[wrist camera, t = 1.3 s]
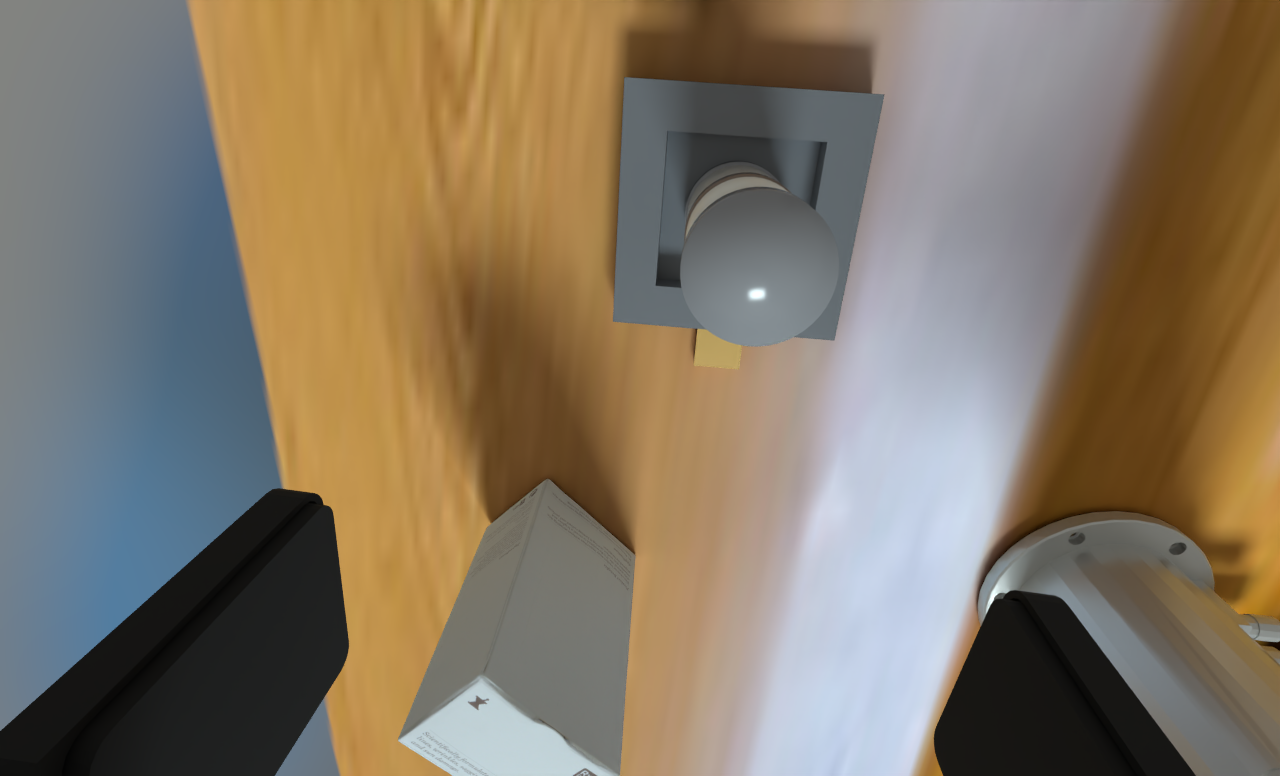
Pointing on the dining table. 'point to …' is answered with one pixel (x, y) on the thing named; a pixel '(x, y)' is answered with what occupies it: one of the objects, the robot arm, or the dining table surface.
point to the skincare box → (532, 650)
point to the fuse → (754, 257)
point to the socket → (713, 134)
